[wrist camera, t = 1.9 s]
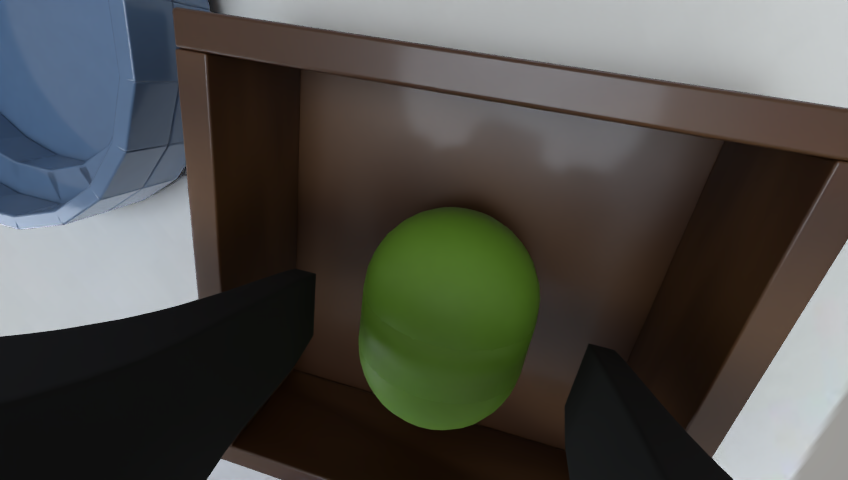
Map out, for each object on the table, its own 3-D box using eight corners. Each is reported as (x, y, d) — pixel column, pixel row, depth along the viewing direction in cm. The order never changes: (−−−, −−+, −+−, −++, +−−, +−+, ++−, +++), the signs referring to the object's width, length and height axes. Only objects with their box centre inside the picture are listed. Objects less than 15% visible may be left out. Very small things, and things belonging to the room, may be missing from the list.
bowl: (233, 230, 16) (160, 268, 12) (-27, 166, 18) (-148, 185, 14) (212, -222, 10) (77, -355, 7) (-152, -239, 13) (-382, -349, 9)
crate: (598, 465, 16) (624, 600, 12) (283, 371, 18) (212, 456, 14) (765, 105, 10) (924, 119, 6) (286, 30, 12) (169, 5, 8)
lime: (506, 372, 14) (499, 496, 10) (381, 337, 15) (324, 440, 11) (555, 205, 12) (573, 276, 8) (402, 174, 13) (338, 222, 8)
